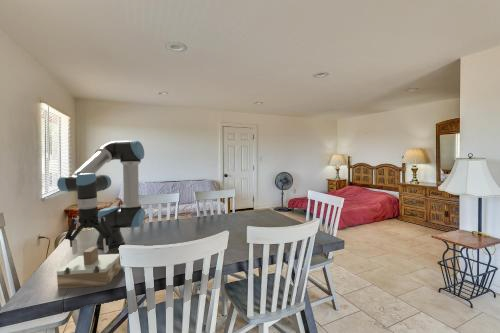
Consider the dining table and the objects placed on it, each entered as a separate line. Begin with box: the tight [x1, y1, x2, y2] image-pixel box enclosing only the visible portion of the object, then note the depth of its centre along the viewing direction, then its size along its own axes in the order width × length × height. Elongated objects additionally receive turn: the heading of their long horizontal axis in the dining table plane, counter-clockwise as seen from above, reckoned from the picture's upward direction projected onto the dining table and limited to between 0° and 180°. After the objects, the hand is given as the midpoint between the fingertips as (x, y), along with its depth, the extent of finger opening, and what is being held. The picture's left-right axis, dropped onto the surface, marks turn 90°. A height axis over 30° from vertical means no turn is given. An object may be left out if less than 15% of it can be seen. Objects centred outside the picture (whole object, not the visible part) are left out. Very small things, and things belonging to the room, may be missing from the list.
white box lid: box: [56, 246, 120, 276], centre depth 117 cm, size 16×20×8 cm
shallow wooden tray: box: [56, 259, 123, 289], centre depth 117 cm, size 16×20×8 cm
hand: (90, 252), depth 117 cm, fingers open, 13 cm apart
